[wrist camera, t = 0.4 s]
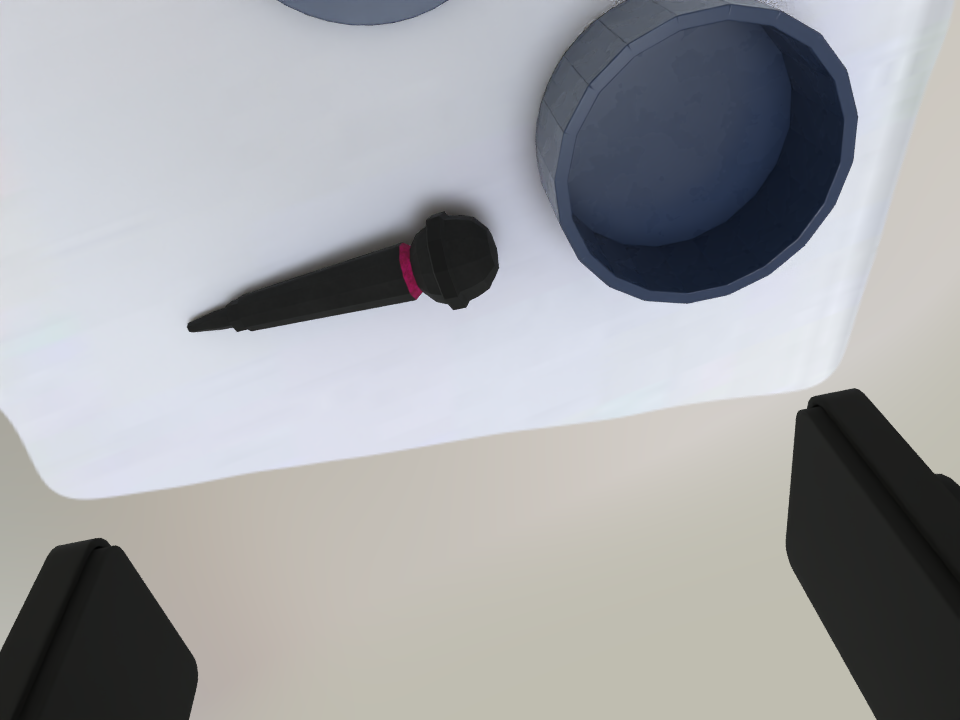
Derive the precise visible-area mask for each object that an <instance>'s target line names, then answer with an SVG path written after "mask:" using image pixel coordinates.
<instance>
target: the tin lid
mask: <svg viewBox="0 0 960 720" xmlns="http://www.w3.org/2000/svg"><path fill="white" fill-rule="evenodd" d="M278 1H279V2H281V3H283V4H284V5H286V6H288V7H291V8H293V9H295V10H297V11H299V12H302V13H304V14H306V15H309V16H312V17H316V18H319V19H322V20H326V21H329V22H335V23H341V24H348V25H380V24H388V23H395V22H399V21H402V20H406V19H410V18H414V17H416V16H418V15H421V14H423V13H425V12H428V11H430V10H432V9H434V8H436V7H438V6H439V5H441V4H443V3H444V2H446V1H448V0H278Z"/></svg>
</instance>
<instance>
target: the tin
mask: <svg viewBox="0 0 960 720" xmlns="http://www.w3.org/2000/svg"><path fill="white" fill-rule="evenodd" d="M857 121H858V115H857V110H856V105H855V101H854V97H853V93H852V89H851V84H850V80H849V76H848V72H847V69H846V68H845V66H844V65H843V64H842V62H841V61H840V59H839V58H838V57H837V55H836V54H835V53H834V51H833V50H832V48H831V47H830V46H829V44H828V43H827V41H826V40H825V39H824V37H823V36H822V35H821V34H820V33H819V32H817V31H815V30H814V29H812V28H810V27H808V26H807V25H805V24H803V23H802V22H800V21H798V20H796V19H795V18H793V17H791V16H790V15H788V14H786V13H784V12H783V11H781V10H779V9H776V8H774V7H771V6H769V5H767V4H764V3H762V2H759V1H757V0H626V1H624V2H623V3H621V4H619V5H617V6H616V7H614V8H612V9H610V10H609V11H608V12H606V13H605V14H604V15H602V16H601V17H600V18H598V19H597V20H596V21H594V22H593V23H592V24H591V25H590V26H589V27H588V28H587V29H586V30H585V31H584V32H583V33H582V34H581V35H580V36H579V37H578V38H577V39H576V40H575V42H574V43H573V44H572V45H571V47H570V48H569V49H568V50H567V51H566V53H565V55H564V56H563V58H562V59H561V61H560V62H559V64H558V65H557V67H556V69H555V71H554V73H553V75H552V77H551V79H550V81H549V83H548V85H547V88H546V91H545V94H544V97H543V99H542V102H541V106H540V111H539V116H538V120H537V130H536V154H537V161H538V167H539V172H540V177H541V182H542V185H543V188H544V190H545V192H546V194H547V197H548V199H549V201H550V203H551V205H552V208H553V210H554V212H555V214H556V217H557V219H558V221H559V223H560V226H561V227H562V229H563V231H564V233H565V235H566V237H567V239H568V241H569V243H570V245H571V246H572V248H573V250H574V252H575V254H576V256H577V258H578V260H580V262H581V263H582V264H584V265H585V266H586V267H587V268H588V269H589V270H590V271H592V272H593V273H594V274H595V275H596V276H597V277H598V278H599V279H601V280H602V281H603V282H604V283H605V284H606V285H608V286H609V287H611V288H613V289H616V290H618V291H621V292H624V293H626V294H629V295H631V296H634V297H636V298H639V299H641V300H644V301H645V300H646V301H654V302H670V303H686V304H688V303H693V302H697V301H702V300H707V299H712V298H716V297H721V296H726V295H728V294H731V293H733V292H735V291H738V290H740V289H742V288H744V287H746V286H748V285H750V284H752V283H754V282H756V281H758V280H760V279H762V278H764V277H766V276H768V275H769V274H771V273H772V272H773V271H775V270H776V269H777V268H778V267H779V266H781V265H782V264H783V263H784V262H786V261H787V260H788V259H789V258H790V257H792V256H793V255H794V254H795V253H796V252H798V251H799V250H800V249H801V248H802V247H804V246H805V244H806V243H807V242H808V241H809V240H810V238H811V237H812V236H813V234H814V233H815V232H816V230H817V229H818V228H819V226H820V225H821V224H822V222H823V221H824V220H825V218H826V217H827V216H828V214H829V213H830V212H831V210H832V209H833V208H834V206H835V204H836V202H837V200H838V197H839V195H840V192H841V190H842V187H843V185H844V183H845V180H846V178H847V175H848V173H849V171H850V168H851V166H852V163H853V159H854V149H855V140H856V130H857Z"/></svg>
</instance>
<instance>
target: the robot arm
mask: <svg viewBox="0 0 960 720" xmlns="http://www.w3.org/2000/svg"><path fill="white" fill-rule="evenodd" d="M786 551H787V555H788V559H789V562H790V565H791V567H792V569H793V571H794V573H795V574H796V576H797V578H798V580H799V582H800V583H801V585H802V587H803V589H804V591H805V592H806V594H807V596H808V598H809V600H810V601H811V603H812V605H813V607H814V608H815V610H816V612H817V614H818V615H819V617H820V619H821V621H822V623H823V625H824V626H825V628H826V630H827V632H828V634H829V635H830V637H831V639H832V641H833V642H834V644H835V646H836V648H837V649H838V651H839V653H840V655H841V657H842V658H843V660H844V662H845V664H846V666H847V667H848V669H849V671H850V673H851V675H852V676H853V678H854V680H855V682H856V684H857V685H858V687H859V689H860V691H861V692H862V694H863V696H864V697H865V700H866V701H867V703H868V705H869V707H870V708H871V710H872V712H873V714H874V716H875V718H876V719H877V720H960V486H959V485H958V484H956V482H954V481H953V480H952V479H951V478H949V477H947V476H945V475H942V474H934V473H933V472H932V471H931V469H930V468H929V467H928V466H927V465H926V464H925V463H924V461H923V460H922V459H921V458H920V457H919V456H918V455H917V453H916V452H915V451H914V450H913V449H912V448H911V447H910V445H909V444H908V443H907V442H906V441H905V440H904V439H903V438H902V436H901V435H900V434H899V433H898V432H897V431H896V429H895V428H894V427H893V426H892V425H891V424H890V423H889V422H888V420H887V419H886V418H885V417H884V416H883V415H882V413H881V412H880V411H879V410H878V409H877V408H876V407H875V405H874V404H873V403H872V402H871V401H870V400H869V399H868V398H867V397H866V396H865V394H864V393H863V392H861V391H860V390H858V389H855V388H854V389H848V390H843V391H839V392H833V393H828V394H823V395H818V396H814V397H811V399H810V400H809V402H808V406H807V409H803V410H800V411H798V413H797V416H796V425H795V437H794V450H793V461H792V473H791V485H790V496H789V508H788V521H787V532H786ZM197 682H198V671H197V664H196V661H195V659H194V657H193V655H192V654H191V652H190V651H189V649H188V648H187V646H186V645H185V643H184V641H183V640H182V638H181V637H180V636H179V634H178V632H177V631H176V630H175V628H174V626H173V625H172V623H171V622H170V620H169V619H168V617H167V616H166V614H165V613H164V611H163V610H162V608H161V607H160V605H159V604H158V602H157V601H156V599H155V598H154V596H153V595H152V593H151V592H150V590H149V589H148V587H147V586H146V584H145V583H144V581H143V580H142V578H141V577H140V575H139V574H138V572H137V571H136V569H135V568H134V566H133V565H132V563H131V562H130V560H129V559H128V557H127V556H126V554H125V553H124V551H123V550H122V549H121V548H120V547H118V546H111V545H110V544H109V543H108V542H107V541H106V540H104V539H102V538H95V539H90V540H85V541H80V542H75V543H70V544H65V545H60V546H57V547H55V548H54V549H52V551H51V552H50V553H49V555H48V556H47V558H46V560H45V562H44V564H43V566H42V568H41V570H40V572H39V574H38V576H37V579H36V580H35V582H34V585H33V586H32V588H31V590H30V592H29V595H28V597H27V599H26V601H25V603H24V605H23V607H22V609H21V611H20V613H19V615H18V617H17V619H16V621H15V623H14V625H13V627H12V629H11V631H10V633H9V635H8V637H7V639H6V641H5V643H4V645H3V647H2V649H1V651H0V720H189V717H190V713H191V708H192V704H193V700H194V696H195V692H196V688H197Z"/></svg>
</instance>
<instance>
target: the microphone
mask: <svg viewBox="0 0 960 720" xmlns="http://www.w3.org/2000/svg"><path fill="white" fill-rule="evenodd" d="M498 269H499V263H498V254H497V248H496V245H495V242H494V240H493V237H492V235H491V233H490V231H489V229H488V228H487V227H486V226H484V225H483V224H482V223H480V222H479V221H478V220H477V219H475V218H474V217H469V216H462V215H458V216H448V215H447V214H446V213H445V211H444V212H441V213H438V214H435V215H432V216H431V217H430V218H428V219H427V220H426V227H424V228H423V229H422V230H421V231H420V232H419V233H418V234H416V236H415V238H414V241H413V243H412V245H411V246H410V245H408V244H406V243H400V244H397V245H394V246H391V247H388V248H385V249H382V250H379V251H376V252H372V253H369V254H366V255H363V256H360V257H357V258H354V259H351V260H348V261H345V262H342V263H339V264H336V265H333V266H330V267H327V268H324V269H321V270H318V271H315V272H312V273H309V274H306V275H303V276H299V277H296V278H293V279H290V280H287V281H284V282H281V283H278V284H275V285H272V286H269V287H266V288H263V289H260V290H257V291H254V292H251V293H248V294H245V295H242V296H241V297H239V298H238V299H237V300H233V301H231V302H230V303H229V304H228V305H227V306H226V308H223V309H220V310H217V311H214V312H212V313H210V314H208V315H205V316H203V317H201V318H199V319H196V320H194V321H192V322H190V323H188V325H187V328H188V330H189V332H201V331H212V330H222V329H228V328H234V329H235V330H236V331H237V332H239V331H243V330H247V329H248V330H250V331H255V330H260V329H266V328H271V327H276V326H282V325H287V324H292V323H297V322H303V321H308V320H313V319H319V318H324V317H329V316H334V315H340V314H345V313H350V312H356V311H361V310H366V309H371V308H377V307H382V306H387V305H393V304H398V303H403V302H409V301H414V300H417V298H418V297H419V296H420V295H421V293H422V292H424V293H425V294H426V295H428V296H429V297H430V298H432V299H433V300H435V301H436V302H439V303H444V304H448V305H449V306H450V307H451V308H452V309H453V310H456V309H461V308H466V307H467V305H468V303H469V301H470V300H472V299H474V298H476V297H478V296H480V295H481V294H483V293H484V292H485V291H487V290H488V289H489V288H490V287H491V284H492V282H493V280H494V278H495V276H496V274H497V272H498Z"/></svg>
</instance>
